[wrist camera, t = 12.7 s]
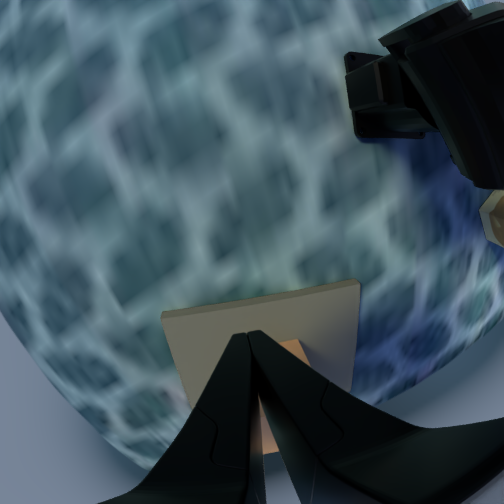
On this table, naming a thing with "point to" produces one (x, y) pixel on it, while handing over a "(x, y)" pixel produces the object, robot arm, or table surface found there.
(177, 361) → the rest mat
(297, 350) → the terracotta block
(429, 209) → the table surface
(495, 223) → the skincare box
